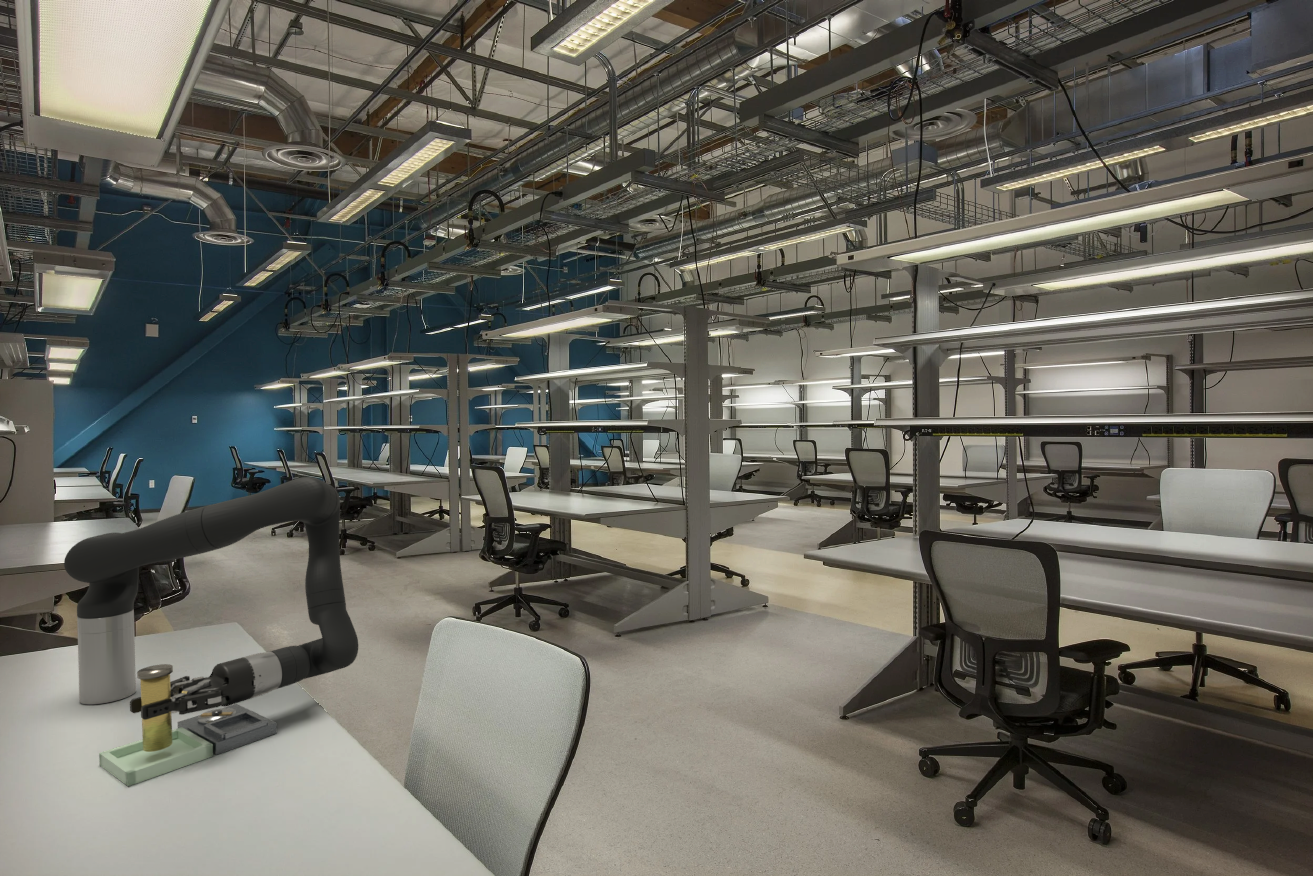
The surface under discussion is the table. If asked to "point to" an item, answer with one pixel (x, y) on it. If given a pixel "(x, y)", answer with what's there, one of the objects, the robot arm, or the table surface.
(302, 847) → the table surface
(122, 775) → the tray
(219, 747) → the crank deck
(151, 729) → the pin
